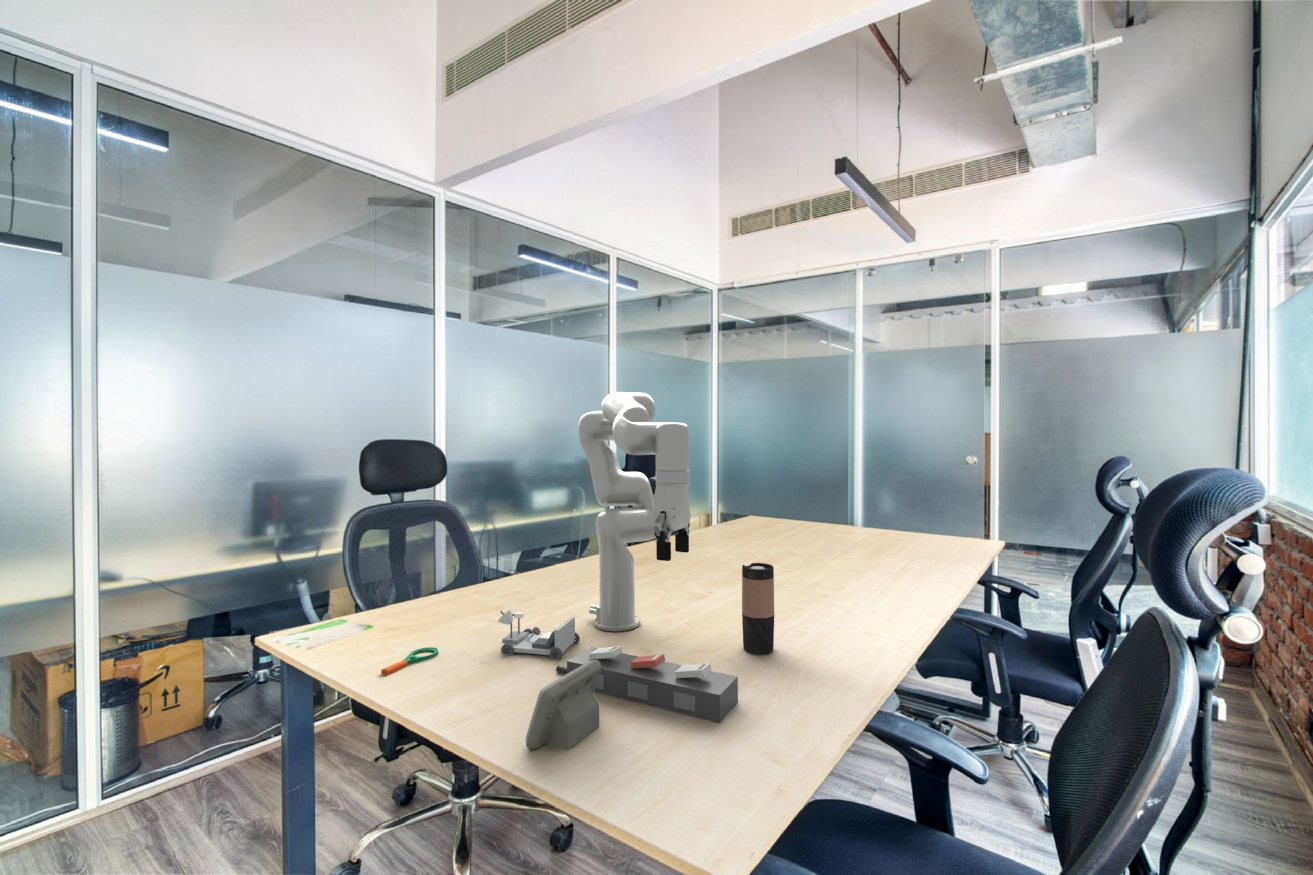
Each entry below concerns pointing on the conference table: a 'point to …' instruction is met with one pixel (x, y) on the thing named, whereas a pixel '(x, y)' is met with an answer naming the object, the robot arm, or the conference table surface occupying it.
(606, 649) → the rocker left
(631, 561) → the robot arm
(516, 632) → the toy car
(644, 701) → the power strip
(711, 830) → the conference table surface
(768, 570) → the travel mug
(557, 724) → the digital clock
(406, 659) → the magnifying glass
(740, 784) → the conference table surface
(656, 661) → the rocker middle
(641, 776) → the conference table surface
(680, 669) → the rocker right
